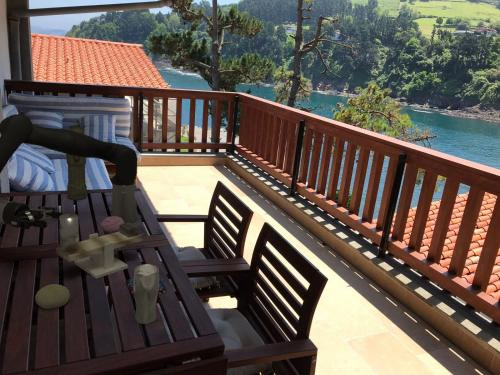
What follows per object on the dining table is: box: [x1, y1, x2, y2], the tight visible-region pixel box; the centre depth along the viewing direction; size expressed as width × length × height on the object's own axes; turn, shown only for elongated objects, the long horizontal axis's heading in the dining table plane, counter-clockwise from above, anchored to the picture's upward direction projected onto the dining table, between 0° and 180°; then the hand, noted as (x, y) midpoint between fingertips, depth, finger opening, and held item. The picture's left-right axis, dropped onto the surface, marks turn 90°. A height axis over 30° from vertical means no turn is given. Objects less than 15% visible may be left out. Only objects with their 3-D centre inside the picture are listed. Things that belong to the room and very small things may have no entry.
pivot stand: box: [74, 232, 129, 279], centre depth 153 cm, size 12×14×10 cm
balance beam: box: [55, 222, 143, 263], centre depth 152 cm, size 27×8×5 cm, turn 138°
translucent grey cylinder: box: [58, 213, 80, 253], centre depth 142 cm, size 6×6×11 cm
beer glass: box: [132, 263, 160, 325], centre depth 124 cm, size 7×7×15 cm
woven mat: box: [125, 278, 167, 299], centre depth 142 cm, size 10×11×2 cm
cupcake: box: [100, 216, 124, 236], centre depth 173 cm, size 9×9×10 cm
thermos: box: [65, 125, 88, 202], centre depth 216 cm, size 9×12×35 cm
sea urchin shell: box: [34, 283, 71, 310], centre depth 130 cm, size 9×8×8 cm
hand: (54, 220), depth 142 cm, fingers open, 8 cm apart
